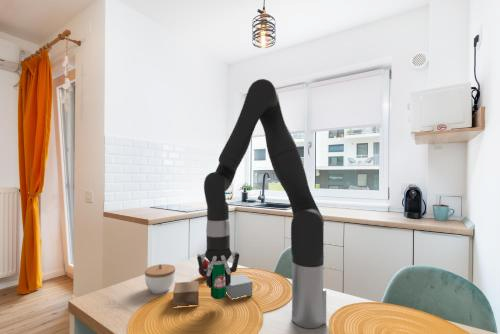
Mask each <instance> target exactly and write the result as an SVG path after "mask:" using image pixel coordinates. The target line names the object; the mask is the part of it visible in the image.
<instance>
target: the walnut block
mask: <svg viewBox="0 0 500 334" xmlns="http://www.w3.org/2000/svg"><path fill="white" fill-rule="evenodd" d="M199 289H200V288H199V280H198V281H197V280H196V281H184V282H175V283H174V287H173V291H172V292H173V293H172V294H173V299H172V304H173V305H172V308H173V307H177V306H189V305H198V306H199Z"/></svg>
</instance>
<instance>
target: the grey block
mask: <svg viewBox="0 0 500 334" xmlns="http://www.w3.org/2000/svg"><path fill="white" fill-rule="evenodd" d="M226 292H227V294H228V295H229V296H230V297H231V299H232V298H237V297H241V296H244V295H247V296H249V297H252V296H253V281H252V280H251V279H250V278H249V277H247V276H246V275H245V274H244V273H240V274H235V275H231V283H230V284H229V286H226ZM231 299H230V300H231Z"/></svg>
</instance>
